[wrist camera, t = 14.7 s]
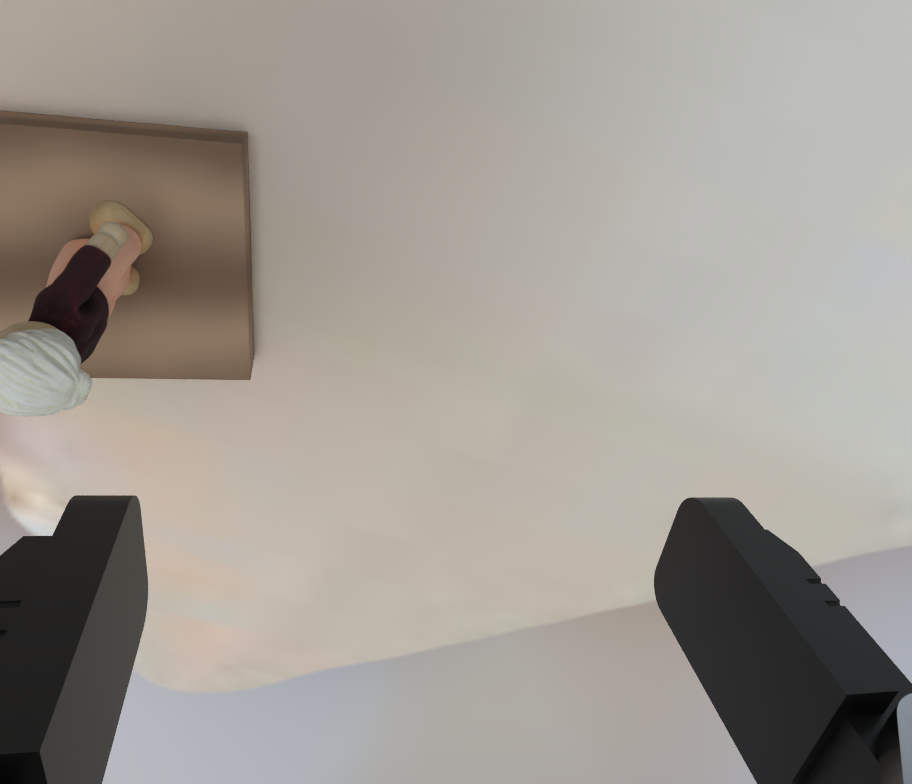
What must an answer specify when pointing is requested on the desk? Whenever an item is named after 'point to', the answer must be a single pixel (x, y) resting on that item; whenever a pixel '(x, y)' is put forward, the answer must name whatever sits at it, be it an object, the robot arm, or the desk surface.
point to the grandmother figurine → (71, 315)
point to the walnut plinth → (162, 210)
